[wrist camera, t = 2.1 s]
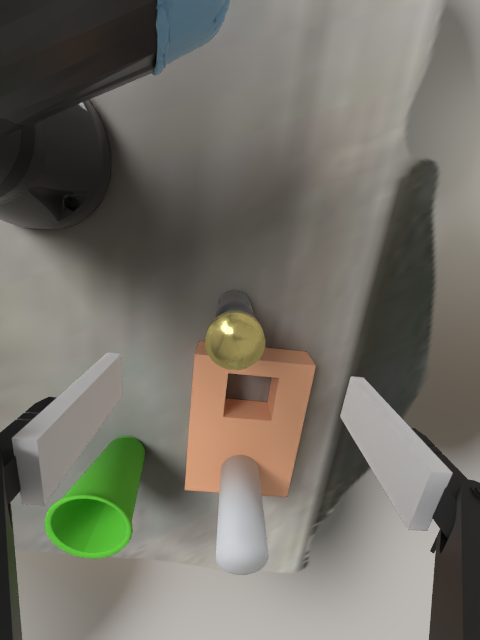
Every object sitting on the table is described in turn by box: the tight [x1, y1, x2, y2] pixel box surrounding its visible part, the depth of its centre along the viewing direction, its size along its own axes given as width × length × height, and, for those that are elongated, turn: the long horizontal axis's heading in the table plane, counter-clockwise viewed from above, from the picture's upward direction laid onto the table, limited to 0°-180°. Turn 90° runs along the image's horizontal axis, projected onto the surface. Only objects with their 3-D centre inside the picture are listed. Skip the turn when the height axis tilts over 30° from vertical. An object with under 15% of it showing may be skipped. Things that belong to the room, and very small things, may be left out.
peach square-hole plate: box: [185, 341, 316, 575], centre depth 30 cm, size 20×14×14 cm
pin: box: [205, 290, 265, 370], centre depth 27 cm, size 5×5×12 cm
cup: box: [45, 436, 145, 558], centre depth 33 cm, size 9×9×11 cm
